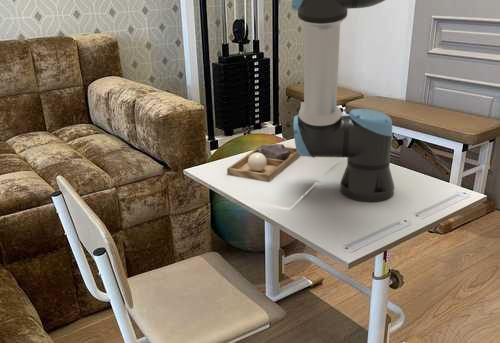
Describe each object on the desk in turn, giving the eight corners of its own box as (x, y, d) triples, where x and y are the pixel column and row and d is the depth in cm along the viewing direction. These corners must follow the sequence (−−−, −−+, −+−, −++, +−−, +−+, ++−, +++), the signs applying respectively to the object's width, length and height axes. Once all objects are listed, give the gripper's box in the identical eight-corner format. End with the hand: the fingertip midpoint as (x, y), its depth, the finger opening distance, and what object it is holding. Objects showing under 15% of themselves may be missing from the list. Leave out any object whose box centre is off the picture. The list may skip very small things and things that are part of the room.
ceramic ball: (270, 168, 159) (269, 151, 157) (261, 175, 154) (261, 157, 152) (253, 166, 162) (252, 148, 160) (244, 172, 157) (244, 154, 155)
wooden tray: (301, 157, 171) (301, 149, 170) (269, 184, 150) (269, 175, 149) (263, 151, 178) (263, 143, 176) (227, 177, 156) (227, 168, 155)
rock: (270, 150, 175) (269, 138, 174) (294, 158, 167) (293, 145, 166) (253, 156, 170) (252, 144, 169) (277, 164, 162) (276, 151, 161)
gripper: (325, 0, 172) (324, 61, 180) (298, 5, 152) (297, 74, 160) (346, -1, 169) (344, 62, 177) (321, 4, 149) (319, 75, 156)
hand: (322, 68), depth 168 cm, fingers open, 13 cm apart
